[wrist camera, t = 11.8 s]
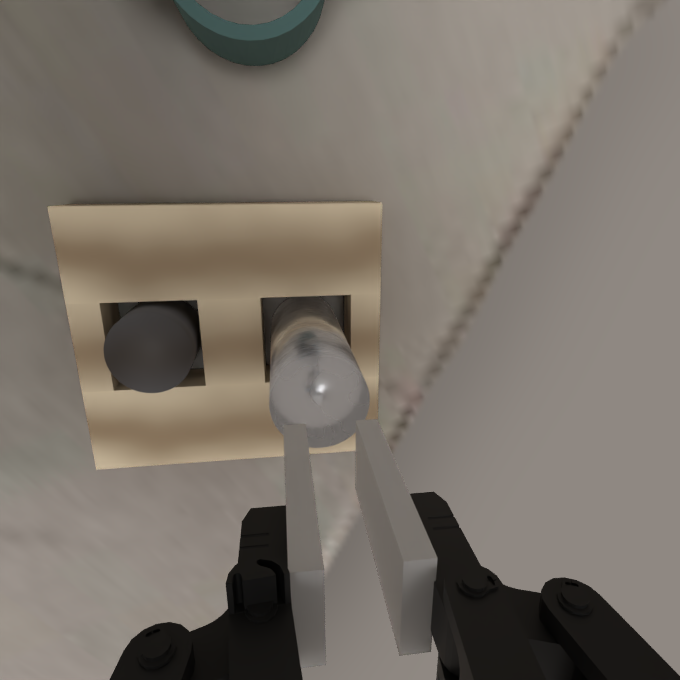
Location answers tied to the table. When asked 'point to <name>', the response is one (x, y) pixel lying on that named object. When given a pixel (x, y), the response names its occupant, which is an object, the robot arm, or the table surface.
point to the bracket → (252, 33)
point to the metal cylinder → (314, 373)
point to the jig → (204, 317)
